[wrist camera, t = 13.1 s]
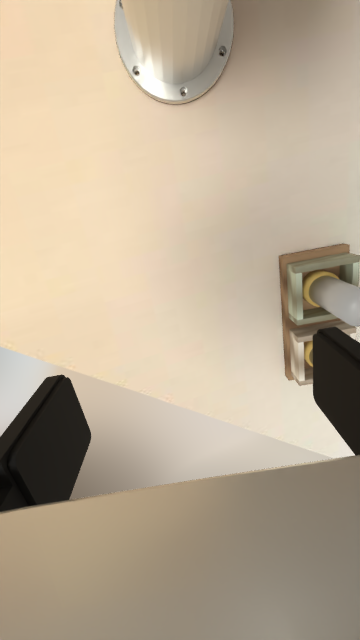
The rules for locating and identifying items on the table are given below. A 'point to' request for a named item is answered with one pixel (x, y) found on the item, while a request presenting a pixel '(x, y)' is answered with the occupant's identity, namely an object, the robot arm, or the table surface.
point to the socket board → (302, 315)
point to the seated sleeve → (332, 295)
